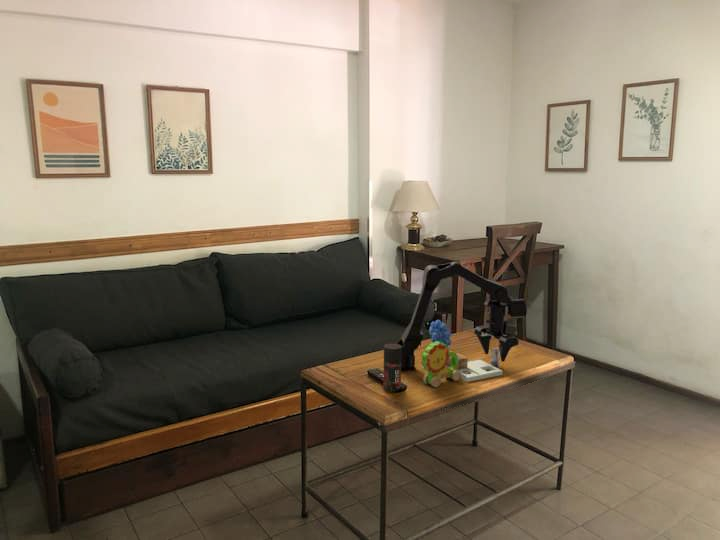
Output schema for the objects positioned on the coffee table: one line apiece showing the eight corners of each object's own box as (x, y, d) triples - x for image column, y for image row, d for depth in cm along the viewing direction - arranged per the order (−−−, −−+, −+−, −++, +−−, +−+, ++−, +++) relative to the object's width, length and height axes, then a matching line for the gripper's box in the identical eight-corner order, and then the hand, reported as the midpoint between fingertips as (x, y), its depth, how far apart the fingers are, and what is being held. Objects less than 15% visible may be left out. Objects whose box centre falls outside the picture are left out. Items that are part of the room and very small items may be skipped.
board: (466, 382, 204) (466, 376, 204) (445, 370, 216) (445, 365, 215) (502, 374, 211) (502, 369, 211) (479, 363, 223) (480, 358, 222)
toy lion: (450, 375, 210) (451, 335, 208) (461, 380, 206) (463, 339, 203) (417, 385, 201) (418, 343, 198) (428, 390, 197) (429, 347, 194)
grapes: (422, 347, 242) (422, 319, 240) (433, 344, 246) (434, 316, 244) (443, 354, 233) (444, 325, 231) (454, 350, 237) (455, 322, 235)
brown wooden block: (453, 369, 211) (454, 360, 210) (444, 364, 216) (444, 355, 215) (467, 367, 213) (467, 357, 213) (457, 361, 219) (457, 353, 218)
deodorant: (390, 383, 202) (390, 342, 199) (404, 388, 199) (405, 346, 196) (379, 388, 198) (380, 346, 195) (393, 393, 194) (394, 350, 191)
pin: (493, 369, 217) (494, 351, 216) (488, 366, 220) (489, 348, 218) (500, 367, 218) (501, 350, 217) (495, 365, 221) (495, 347, 220)
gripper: (531, 321, 211) (528, 362, 214) (497, 309, 227) (495, 347, 230) (507, 324, 206) (504, 366, 209) (474, 312, 222) (472, 351, 225)
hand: (494, 357), depth 218 cm, fingers open, 9 cm apart
